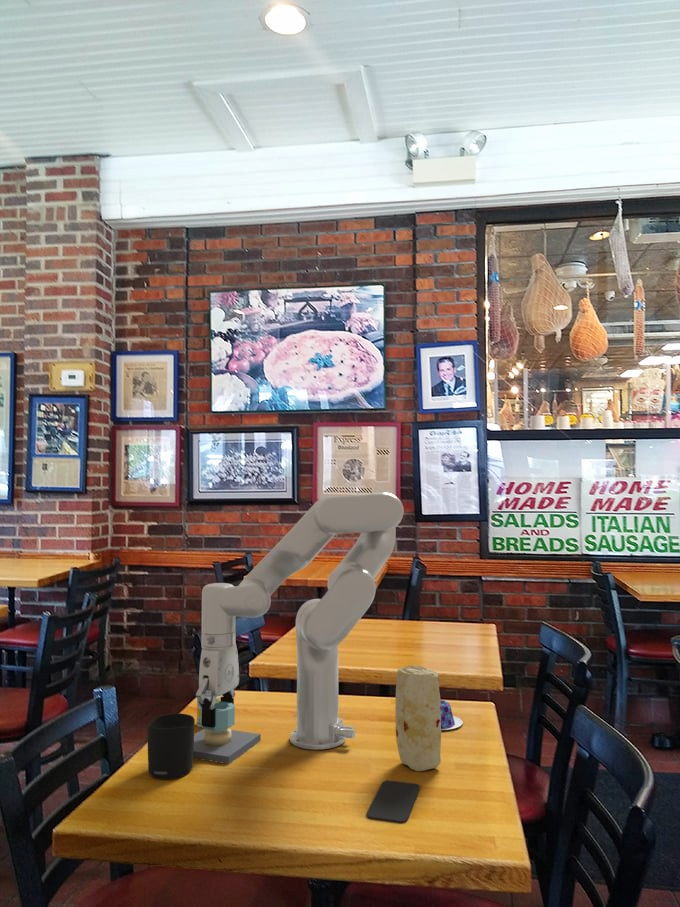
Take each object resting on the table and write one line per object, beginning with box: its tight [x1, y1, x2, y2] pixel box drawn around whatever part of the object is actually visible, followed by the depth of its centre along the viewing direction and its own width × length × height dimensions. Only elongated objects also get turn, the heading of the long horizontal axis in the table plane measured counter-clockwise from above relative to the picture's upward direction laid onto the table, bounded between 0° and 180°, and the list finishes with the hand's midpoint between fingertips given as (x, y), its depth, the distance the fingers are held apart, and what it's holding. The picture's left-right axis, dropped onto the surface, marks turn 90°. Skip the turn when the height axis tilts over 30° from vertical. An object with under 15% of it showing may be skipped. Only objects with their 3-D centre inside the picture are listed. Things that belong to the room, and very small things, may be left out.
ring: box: [200, 701, 236, 731], centre depth 149 cm, size 7×7×4 cm
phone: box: [365, 780, 421, 824], centre depth 122 cm, size 7×1×15 cm
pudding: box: [440, 699, 463, 731], centre depth 164 cm, size 12×12×5 cm
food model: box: [394, 665, 442, 772], centre depth 139 cm, size 10×7×20 cm
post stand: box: [193, 709, 262, 765], centre depth 149 cm, size 14×14×8 cm
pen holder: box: [146, 712, 196, 780], centre depth 136 cm, size 9×9×10 cm
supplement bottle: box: [196, 691, 221, 728], centre depth 163 cm, size 5×5×10 cm
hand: (218, 720), depth 149 cm, fingers closed on ring, 7 cm apart
